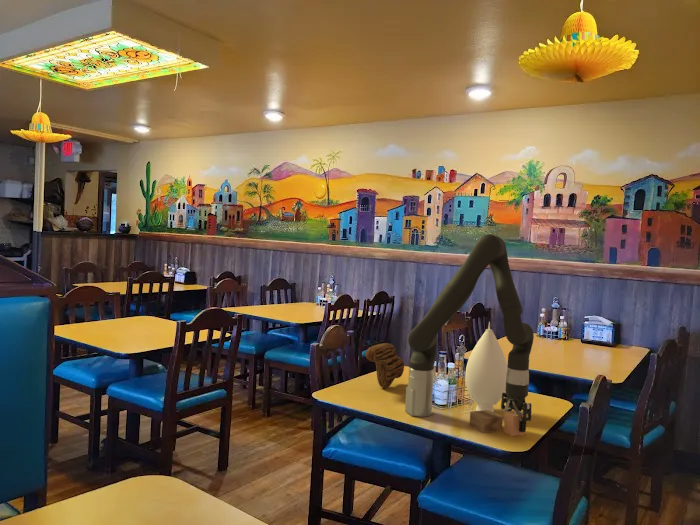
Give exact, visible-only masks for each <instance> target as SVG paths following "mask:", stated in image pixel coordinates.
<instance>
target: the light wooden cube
mask: <svg viewBox="0 0 700 525" xmlns="http://www.w3.org/2000/svg"><path fill="white" fill-rule="evenodd" d="M504 418H505V420H504V422H503V424H504V425H503V432H504V431H505V432H504V433H506V434H508V435H509V434H510V435H509V436H511V435H512V436H511V437H516V436H515V435H523V436H526V431H525V432H520V431H519V421H520V419H519V416H518V415H517V414H516V411H514V410H512V411H506V412H504ZM522 418H523V415H522Z"/></svg>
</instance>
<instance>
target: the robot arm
mask: <svg viewBox="0 0 700 525" xmlns="http://www.w3.org/2000/svg"><path fill="white" fill-rule="evenodd" d="M488 266H489V267H490V269H491V272H492V276H493V279H494V287H495V294H496V297H497V302H498V305H499V308H500V311H501V313H502V322H503V323H502V324H503V329H504V330H503V332H504V335H505V338H506V339H507V341H508V342H509V343H510V344H511V345H512V349H511V350H510V351H509V352H508V355H507V373H506V390H505V393H502V398H501V400H500V401H501V402H500V409H501V410H503V413H505V412H506V411H516V414H517V415H518V416H519V419H520V421H519V431H520V432H525V433H526V430H527V422H531V421H532V403H531V402H526V398H527V397H528V396H529V385H530V373H529V372H530V369H529V368H530V355H531V351H532V347H533V343H534V330H533V327H531V325H530V324H528V323H526V322H522V317H521V316H522V314H523V311H524V309H523V306H522V303H521V300H520V298H519V295H518V291H517V289H516V285H515V282H514V279H513V276H512V271H511V268H510V264H509V257H508V250H507V245H506V242H505V241H504V239H502V238H501V237H500V236H497V235H495V234H490V233H489V234H488V233H487V234H484V235H482V236H481V237H480V238H478V240H477V241H476V242H475V244H474V246H473V248H472V249H471V251H470V253H469V255H468V256H467V257H466V259H465V261H464V262H463V264H462V265H461V266H460V267H459V268H458V270H457V271H456V272H455V273H454V275H453V276H452V277H451V279H449V281H448V282H447V284H446V285H445V286H444V287H443V289H442V290H441V291H440V293H439V295H437V298H436V299H435V300H434V301H433V303H432V305H431V307H430V309H428V312H427V313H426V314H425V315H424V317H422V319H421V320H420V321H419V322H418V323H417V324H416V326H415V327H414V328H412V329H411V331H410V332H409V334H408V339H407V342H408V345H409V347H410V349H412V353H411V356H410V359H409V363H408V364H409V365H408V382H407V383H408V384H407V385H408V386H406V387H405V401H404V402H405V404H404V405H405V406H404V408H405V409H404V411H405V412H406V414H408V415H409V416H411V417H420V418H421V417H423V418H425V417H429V416H431V415H432V414H433V413H432V412H433V411H432V410H433V395H434V394H433V393H434V392H433V391H434V371H435V369H434V368H435V363H436V359H437V357H436V356H437V348H438V346H437V345H438V334H439V332H440V330H441V329H442V328H443V327H444V326H445V324H446V323H448V322H449V321H450V320H451V319H452V318H453V317H455V315H456V314H457V313H458V312H459V311H460V310H461V309H462V308H463V306H464V305H465V304H466V302H467V301H468V300H469V299H470V297H471V295H472V293H473V292H474V290H475V288H476V285H477V282H478V281H479V278H480V276H481V275H482V273H483V272H484V271H485V270H486V268H487V267H488ZM522 415H523V418H522ZM504 420H505V417H504Z"/></svg>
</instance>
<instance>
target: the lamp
mask: <svg viewBox="0 0 700 525" xmlns="http://www.w3.org/2000/svg"><path fill="white" fill-rule="evenodd" d="M507 366H508V361H507V359H506V357H505V353H504V351H503V349H502V347H501V345H500V343H499V340H498V339H497V337H496V335H495V333H494V332H493V329H491V322H490V321H488V327H487V328H486V329H485V331H484V333H483V334H482V335H481V337H480V338H479V339H478V340H477V343H476V344H475V346H474V347H473V349H472V351H471V352H470V355H469V357H468V360H467V363H466V367H465V374H464V376H465V387H466V389H467V392H468V395H469V396H470V398H471V399H472V401H473V402H475V403H476V404H477V405H476V407H475V411H483V410H490V411H492V412H494V413H495V411H494V405H497V404H498V402H499V401H501V400H502V393H506V392H505V390H506V373H507Z"/></svg>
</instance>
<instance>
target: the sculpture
mask: <svg viewBox="0 0 700 525" xmlns="http://www.w3.org/2000/svg"><path fill="white" fill-rule="evenodd" d="M364 354H365V357H366V359H367V360H368V361H369V362H373V363H375V367H376V368H375V371H376V378H377V383H378V385H379V386H380V388H382V389H388V388H390V387H391V385H392V384H393V382H394V381H395V379H399V378H401V377H402V376H403V373H404V370H405V363H404V360H403V359H402V357H399V356H398V354H397V350H396V347H395V346H394V345H393V344H391V343H388V342H385V343H378V344H374V345H372V346H369V347H368V348H367V349H366V351H365V353H364Z"/></svg>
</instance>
